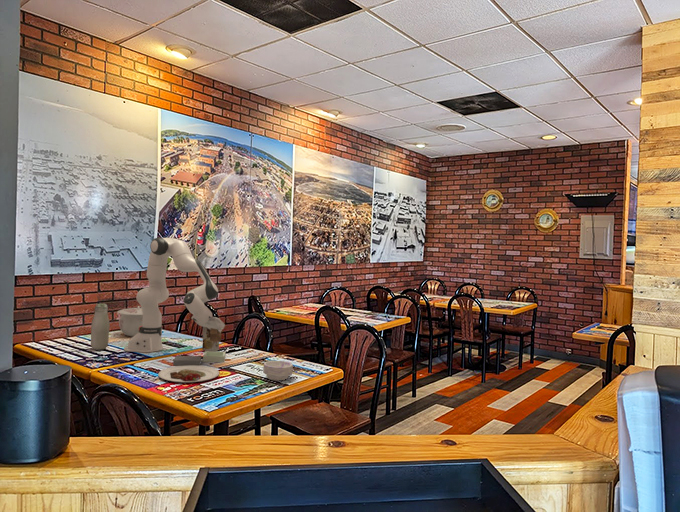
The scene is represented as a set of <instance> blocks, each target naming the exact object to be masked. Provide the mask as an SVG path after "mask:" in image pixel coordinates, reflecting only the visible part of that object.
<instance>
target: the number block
mask: <svg viewBox="0 0 680 512" xmlns="http://www.w3.org/2000/svg"><path fill="white" fill-rule="evenodd" d="M210 341H213V342H219V343H220V342H221V341H222V332H221V333H219V332H218V331H217V329H213V328H210Z"/></svg>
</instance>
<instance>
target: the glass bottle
mask: <svg viewBox="0 0 680 512" xmlns="http://www.w3.org/2000/svg"><path fill="white" fill-rule="evenodd" d="M108 310H109V308H108V305H107V304H106V303H97V304H96V305H95V306H94V314H93V317H92V320H91V328H90V347H91V348H92V349H93V350H96V351H103V350H105V349H106V348H107V347H108V346H109V342H110V341H109V339H110V338H109V337H110V327H111V326H110V319H109V315H108V312H109V311H108Z"/></svg>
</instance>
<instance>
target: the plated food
mask: <svg viewBox="0 0 680 512" xmlns="http://www.w3.org/2000/svg"><path fill="white" fill-rule="evenodd" d="M157 375H158V378H160V379H162V380H166V381H169V382H174V383H182V384H183V383H187V384H188V383H190V384H191V383H197V382H198V383H200V382H205V381H209V380H212V379H215V378H217V377H218V376H219V375H220V371H219V370H218V369H216V368H215V367H211V366H205V365H199V366H196V365H187V366H172V367H167V368H164V369H162V370H160V371H159V372H158V374H157Z"/></svg>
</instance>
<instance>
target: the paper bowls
mask: <svg viewBox="0 0 680 512" xmlns="http://www.w3.org/2000/svg"><path fill="white" fill-rule="evenodd" d="M293 368H294V364H293V363H292V362H289V361H285V360H270V361H269V360H268V361H265V362H264V363H263V374H265V375H266V377H267V378H268V379H269V380H271V381H273V382H274V381H275V382H280V381H279V380H283V381H286V380H287V379H288V378H289V376H292V375H293V371H294V370H293ZM285 379H286V380H285Z"/></svg>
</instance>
